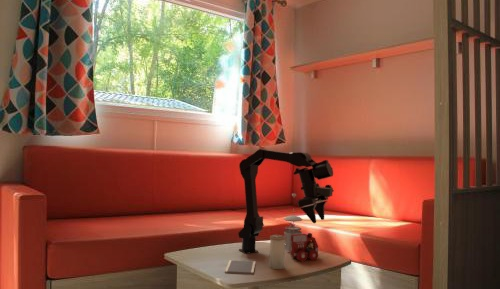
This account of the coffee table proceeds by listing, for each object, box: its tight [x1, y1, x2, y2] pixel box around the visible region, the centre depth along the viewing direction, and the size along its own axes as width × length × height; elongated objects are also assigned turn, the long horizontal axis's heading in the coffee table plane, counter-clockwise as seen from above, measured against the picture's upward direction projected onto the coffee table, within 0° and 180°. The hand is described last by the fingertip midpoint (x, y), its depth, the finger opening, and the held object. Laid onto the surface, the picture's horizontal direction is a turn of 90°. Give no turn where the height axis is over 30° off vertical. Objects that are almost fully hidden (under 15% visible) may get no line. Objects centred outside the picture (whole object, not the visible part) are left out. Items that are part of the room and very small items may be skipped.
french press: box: [283, 193, 303, 254], centre depth 189 cm, size 10×12×25 cm
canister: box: [269, 234, 286, 270], centre depth 161 cm, size 6×6×12 cm
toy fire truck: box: [290, 232, 319, 262], centre depth 175 cm, size 7×12×10 cm, turn 113°
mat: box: [224, 259, 256, 275], centre depth 159 cm, size 15×10×1 cm, turn 176°
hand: (319, 221), depth 169 cm, fingers open, 9 cm apart
